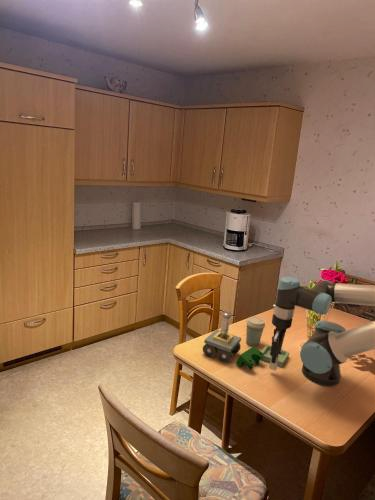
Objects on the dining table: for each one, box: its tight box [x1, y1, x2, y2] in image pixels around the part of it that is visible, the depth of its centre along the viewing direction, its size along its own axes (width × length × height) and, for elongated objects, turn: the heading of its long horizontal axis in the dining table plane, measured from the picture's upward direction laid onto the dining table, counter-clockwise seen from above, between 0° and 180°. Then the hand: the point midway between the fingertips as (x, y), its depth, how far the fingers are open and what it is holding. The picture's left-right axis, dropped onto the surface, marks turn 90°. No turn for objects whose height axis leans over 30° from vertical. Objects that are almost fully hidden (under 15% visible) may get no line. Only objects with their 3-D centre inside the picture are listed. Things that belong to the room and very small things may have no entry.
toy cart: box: [202, 329, 242, 364], centre depth 161 cm, size 13×12×9 cm
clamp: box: [235, 346, 264, 371], centre depth 156 cm, size 12×6×9 cm, turn 132°
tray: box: [260, 344, 290, 368], centre depth 163 cm, size 10×10×2 cm
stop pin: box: [220, 310, 233, 340], centre depth 158 cm, size 4×4×12 cm
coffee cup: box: [245, 316, 266, 348], centre depth 172 cm, size 8×8×12 cm
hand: (272, 368), depth 151 cm, fingers closed
